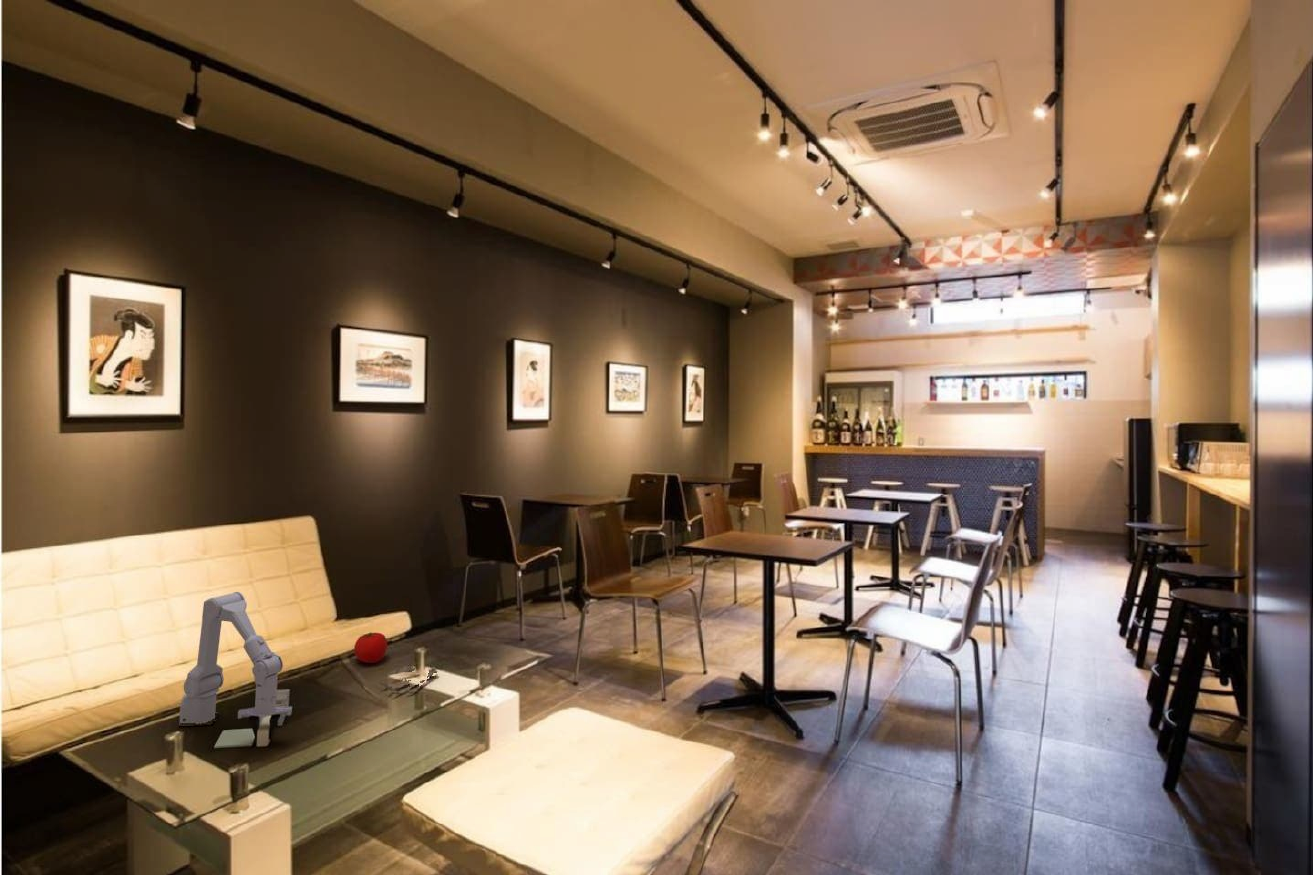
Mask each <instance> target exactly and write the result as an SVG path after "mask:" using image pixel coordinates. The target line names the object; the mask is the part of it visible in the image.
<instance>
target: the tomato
mask: <svg viewBox="0 0 1313 875" xmlns="http://www.w3.org/2000/svg"><path fill="white" fill-rule="evenodd" d="M360 635H361V636H359V638H357V639H356V641H355V644H354V646H353V650H354V655H355V657H356V658H357V659H358V660H359V661H361V662H363V663H366V664H367V663H368V664H370V663H371V664H373V663H375V664H376V663H378V662H380V661H381V660H382V659H383V658H384V656H385V655H386V652H387V649H388V642H387V639H386V636H385V634H383V633H380V632H371V631H370V632H369V633H364V634H361V633H360Z"/></svg>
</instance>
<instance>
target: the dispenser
mask: <svg viewBox="0 0 1313 875" xmlns="http://www.w3.org/2000/svg"><path fill="white" fill-rule="evenodd" d="M290 690H291V689H288V688H287V689H277V697H276V706H284V707H290ZM286 717H287V715H280V718H279V720H278V722H277V726H278V727H281V726H283V723H284V721H285V718H286ZM262 720H263V717H262V718H260V723H259V726H260V724H261V722H262Z"/></svg>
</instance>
